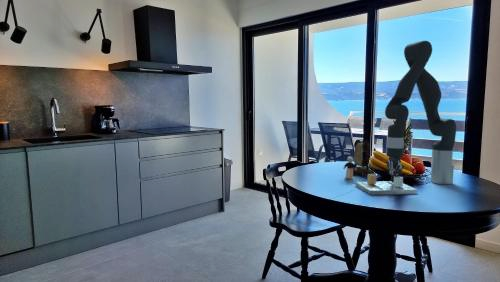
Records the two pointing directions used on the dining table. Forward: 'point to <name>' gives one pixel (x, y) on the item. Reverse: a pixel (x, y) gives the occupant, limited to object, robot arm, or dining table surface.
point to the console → (385, 188)
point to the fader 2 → (398, 181)
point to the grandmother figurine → (349, 168)
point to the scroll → (358, 157)
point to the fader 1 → (371, 179)
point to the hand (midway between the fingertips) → (393, 182)
